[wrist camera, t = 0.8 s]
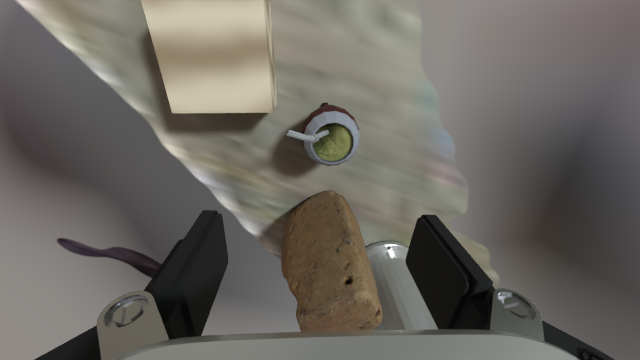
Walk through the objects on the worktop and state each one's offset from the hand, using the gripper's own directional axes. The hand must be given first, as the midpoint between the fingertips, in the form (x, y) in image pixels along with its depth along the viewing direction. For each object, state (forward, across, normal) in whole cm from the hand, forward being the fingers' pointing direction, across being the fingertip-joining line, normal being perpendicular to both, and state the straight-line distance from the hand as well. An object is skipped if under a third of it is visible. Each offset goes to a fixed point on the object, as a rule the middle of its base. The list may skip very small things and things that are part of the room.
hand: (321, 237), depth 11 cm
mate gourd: (+25, -2, 0) cm, 25 cm away
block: (+25, -2, +15) cm, 30 cm away
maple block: (+25, +10, -7) cm, 28 cm away
